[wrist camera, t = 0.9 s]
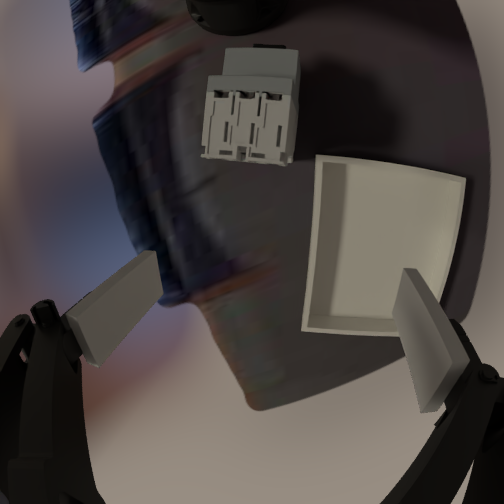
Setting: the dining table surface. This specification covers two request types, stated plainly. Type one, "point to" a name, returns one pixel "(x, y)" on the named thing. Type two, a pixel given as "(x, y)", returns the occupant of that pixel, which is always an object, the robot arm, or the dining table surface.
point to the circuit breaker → (253, 106)
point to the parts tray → (375, 240)
